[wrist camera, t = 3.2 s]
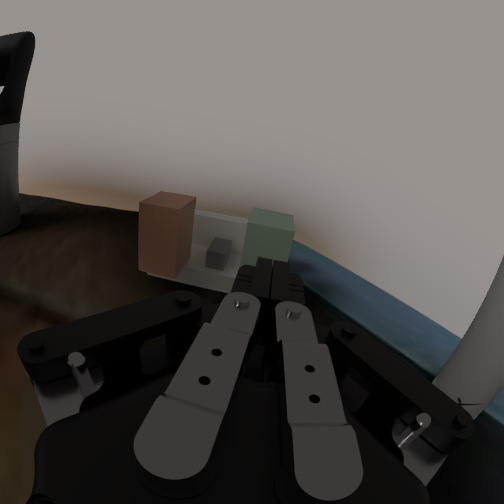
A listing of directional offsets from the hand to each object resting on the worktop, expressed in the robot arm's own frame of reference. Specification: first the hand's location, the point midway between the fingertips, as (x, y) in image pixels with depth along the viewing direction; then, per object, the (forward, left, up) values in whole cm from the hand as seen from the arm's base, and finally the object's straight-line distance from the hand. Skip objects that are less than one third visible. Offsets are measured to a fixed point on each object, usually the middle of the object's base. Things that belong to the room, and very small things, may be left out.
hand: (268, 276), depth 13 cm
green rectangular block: (0, +13, -8) cm, 15 cm away
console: (-5, +16, -10) cm, 20 cm away
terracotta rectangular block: (-10, +13, -8) cm, 18 cm away
